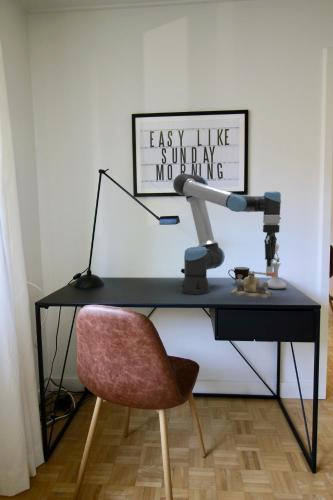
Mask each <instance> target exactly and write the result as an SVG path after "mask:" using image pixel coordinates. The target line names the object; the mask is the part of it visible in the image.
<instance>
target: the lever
mask: <svg viewBox="0 0 333 500" xmlns="http://www.w3.org/2000/svg"><path fill="white" fill-rule="evenodd" d="M249 274H255V275H262V276H263V275H264V276H266V277H271V278H272V277H275V276H276V273H275V272H274V271H273V273H266V272H260V271H259V272H258V271H253V270H249Z"/></svg>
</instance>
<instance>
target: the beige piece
mask: <svg viewBox="0 0 333 500" xmlns="http://www.w3.org/2000/svg"><path fill="white" fill-rule="evenodd" d="M255 275H256V274H249V276H248V277H246V278H244V280H240V279H236V281H235V280H234V281H235V284H234V285H235V286H236V288H235V289H233V290H231V291H230V294H231V295H238V296H239V295H240V296H247V297H254V298H263V299H268V298H269V297H270V296H271V295H273V294H272V293H273V292H272V291H269V290H268V289H269V288H268V282H267V281H260V277H255Z"/></svg>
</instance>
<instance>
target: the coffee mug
mask: <svg viewBox="0 0 333 500" xmlns="http://www.w3.org/2000/svg"><path fill="white" fill-rule="evenodd" d="M230 271H232V272H233V273H234V276H232V275H231V274H230ZM249 271H250V267H248V266H247V267H246V266H236V267H234V269H233V268H231V269H229V270H228V273H227V274H228V275H229V276H230V278H232V279H233V280H234V281H236V279H240V280H244V278H246V277H249Z"/></svg>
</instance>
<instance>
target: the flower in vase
mask: <svg viewBox="0 0 333 500" xmlns="http://www.w3.org/2000/svg"><path fill="white" fill-rule="evenodd" d="M279 248H280V245H279V244H278V243H276V247H275V255H276V256H275V257H274V258H275V260H274V261H275V262H273V272H275V273H276V276H275V277H271V278H269V279H268V280H267V281H266V282H268V289H275V290H281V289H285V288H286V287H287V284H286V283H285V282H284V280H282V279H281V278H280V277H279V268H280V266H281V263H280V257H279V254H278V251H279Z"/></svg>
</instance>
